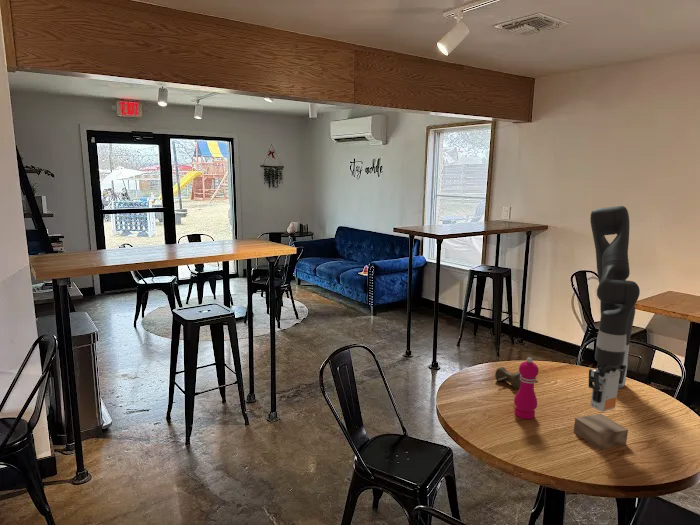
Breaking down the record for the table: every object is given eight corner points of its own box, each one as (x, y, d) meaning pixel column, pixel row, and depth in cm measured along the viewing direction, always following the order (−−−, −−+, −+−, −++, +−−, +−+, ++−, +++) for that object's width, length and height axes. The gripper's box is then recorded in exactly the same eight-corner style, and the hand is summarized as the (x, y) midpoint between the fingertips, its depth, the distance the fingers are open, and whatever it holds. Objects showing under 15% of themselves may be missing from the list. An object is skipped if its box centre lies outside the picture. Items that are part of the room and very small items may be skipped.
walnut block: (598, 428, 148) (600, 413, 147) (625, 445, 139) (628, 429, 138) (573, 432, 145) (575, 417, 144) (599, 450, 135) (601, 434, 135)
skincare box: (603, 412, 137) (608, 374, 135) (589, 406, 141) (594, 369, 138) (615, 408, 140) (621, 371, 137) (602, 402, 143) (607, 365, 141)
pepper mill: (509, 414, 155) (514, 357, 151) (518, 407, 160) (523, 352, 156) (530, 422, 150) (536, 363, 146) (539, 414, 155) (545, 357, 151)
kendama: (542, 383, 181) (507, 392, 171) (521, 374, 189) (487, 383, 179) (543, 368, 180) (508, 377, 170) (522, 360, 188) (488, 368, 178)
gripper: (614, 339, 143) (607, 390, 146) (582, 345, 137) (576, 398, 140) (638, 347, 136) (631, 400, 139) (606, 354, 130) (599, 409, 133)
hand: (603, 399), depth 140 cm, fingers closed on skincare box, 6 cm apart
